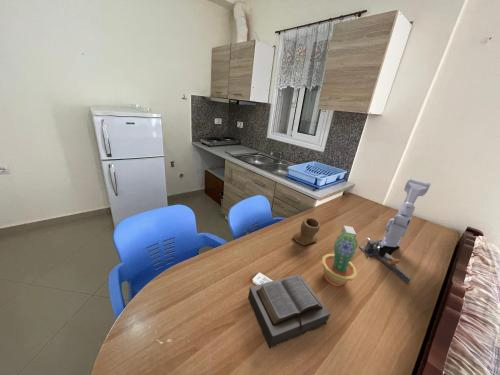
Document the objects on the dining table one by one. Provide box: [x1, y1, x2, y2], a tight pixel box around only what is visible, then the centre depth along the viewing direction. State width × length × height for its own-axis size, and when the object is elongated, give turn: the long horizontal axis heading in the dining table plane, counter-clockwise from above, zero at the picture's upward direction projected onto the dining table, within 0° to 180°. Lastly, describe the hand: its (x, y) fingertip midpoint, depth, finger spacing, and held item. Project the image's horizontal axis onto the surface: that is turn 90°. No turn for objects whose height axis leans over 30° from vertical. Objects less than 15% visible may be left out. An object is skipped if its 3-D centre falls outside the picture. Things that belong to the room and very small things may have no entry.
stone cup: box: [292, 217, 321, 246], centre depth 117 cm, size 15×12×15 cm
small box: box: [339, 225, 357, 238], centre depth 119 cm, size 8×6×10 cm
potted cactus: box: [321, 232, 359, 287], centre depth 90 cm, size 15×15×25 cm
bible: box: [247, 273, 332, 349], centre depth 75 cm, size 23×27×10 cm
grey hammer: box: [358, 239, 412, 284], centre depth 109 cm, size 12×26×7 cm, turn 14°
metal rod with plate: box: [365, 237, 401, 265], centre depth 113 cm, size 6×20×3 cm, turn 15°
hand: (384, 255), depth 111 cm, fingers open, 5 cm apart
